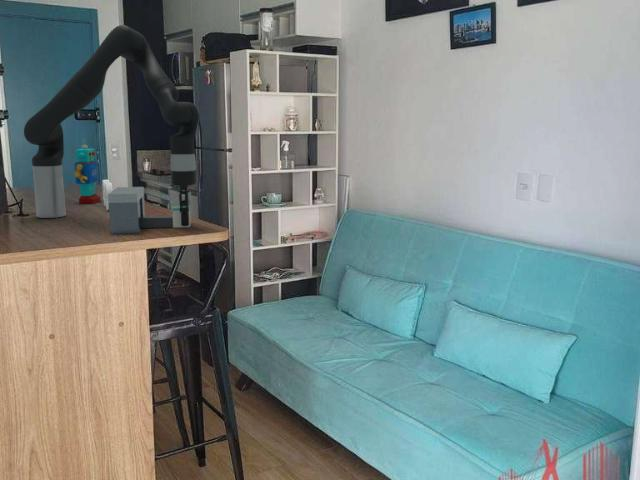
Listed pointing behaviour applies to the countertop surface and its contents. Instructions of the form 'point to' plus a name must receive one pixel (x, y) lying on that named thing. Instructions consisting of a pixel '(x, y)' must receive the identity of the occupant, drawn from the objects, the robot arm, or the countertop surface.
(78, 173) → the toy robot
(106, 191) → the letter
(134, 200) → the housing
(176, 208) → the plug
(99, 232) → the countertop surface
